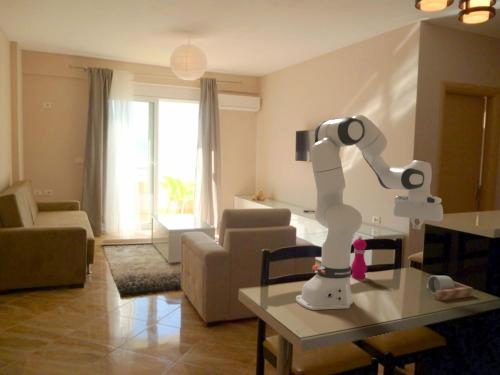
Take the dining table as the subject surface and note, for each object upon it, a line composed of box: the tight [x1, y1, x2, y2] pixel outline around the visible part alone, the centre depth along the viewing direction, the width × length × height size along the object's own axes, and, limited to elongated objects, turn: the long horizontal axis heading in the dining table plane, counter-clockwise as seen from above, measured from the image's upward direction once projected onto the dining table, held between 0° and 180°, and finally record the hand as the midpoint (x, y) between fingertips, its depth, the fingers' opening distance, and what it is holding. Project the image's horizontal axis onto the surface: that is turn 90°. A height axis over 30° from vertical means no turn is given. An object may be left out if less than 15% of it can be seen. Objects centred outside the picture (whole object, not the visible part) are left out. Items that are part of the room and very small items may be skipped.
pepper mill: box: [350, 235, 368, 280], centre depth 194 cm, size 7×7×20 cm
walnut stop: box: [434, 280, 474, 301], centre depth 173 cm, size 18×12×4 cm, turn 110°
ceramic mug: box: [426, 275, 454, 295], centre depth 175 cm, size 11×8×8 cm
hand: (416, 229), depth 179 cm, fingers closed
